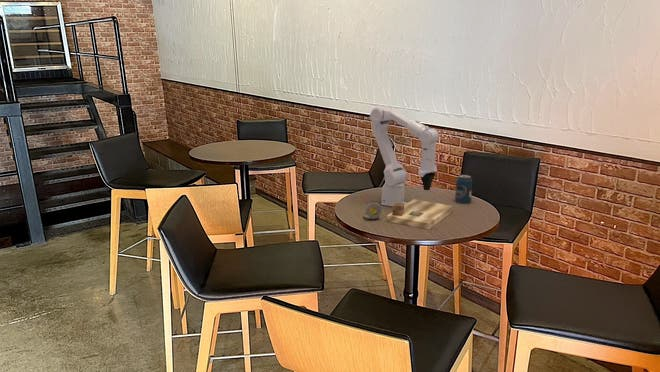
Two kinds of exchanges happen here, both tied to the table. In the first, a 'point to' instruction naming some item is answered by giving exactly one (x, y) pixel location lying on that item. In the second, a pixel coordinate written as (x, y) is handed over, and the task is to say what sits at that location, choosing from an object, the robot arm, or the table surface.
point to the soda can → (463, 189)
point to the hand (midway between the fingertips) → (426, 189)
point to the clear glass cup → (373, 210)
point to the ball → (415, 213)
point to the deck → (421, 214)
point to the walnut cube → (398, 209)
